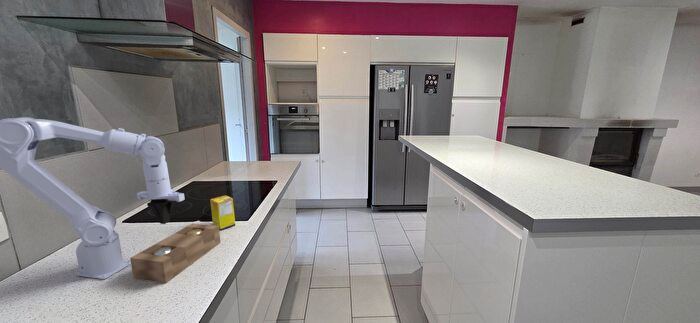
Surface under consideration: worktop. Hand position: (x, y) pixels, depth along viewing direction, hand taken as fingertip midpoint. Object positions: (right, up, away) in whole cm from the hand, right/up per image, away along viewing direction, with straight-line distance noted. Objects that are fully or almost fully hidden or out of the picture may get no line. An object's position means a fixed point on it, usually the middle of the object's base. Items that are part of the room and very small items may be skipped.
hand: (165, 222), depth 85 cm
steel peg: (+4, -12, -6) cm, 14 cm away
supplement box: (+8, -6, +22) cm, 24 cm away
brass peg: (+6, -9, +5) cm, 12 cm away
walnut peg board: (+5, -11, 0) cm, 12 cm away
